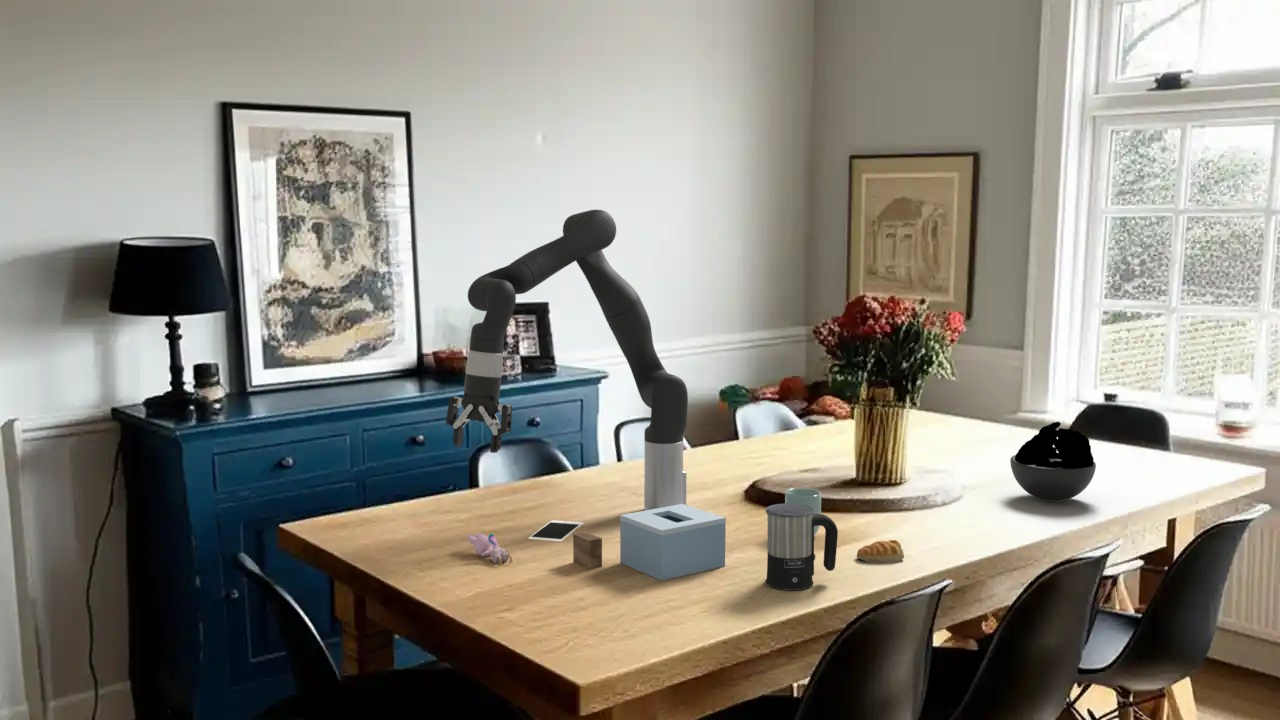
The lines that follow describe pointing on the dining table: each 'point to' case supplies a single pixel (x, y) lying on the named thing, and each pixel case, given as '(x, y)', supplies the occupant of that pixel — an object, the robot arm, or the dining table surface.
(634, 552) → the box
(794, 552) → the milk frother
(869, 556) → the pastry
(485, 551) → the rabbit figure
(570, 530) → the cell phone
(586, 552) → the wooden rectangular block
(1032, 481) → the bowl of black rocks
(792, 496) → the cup
